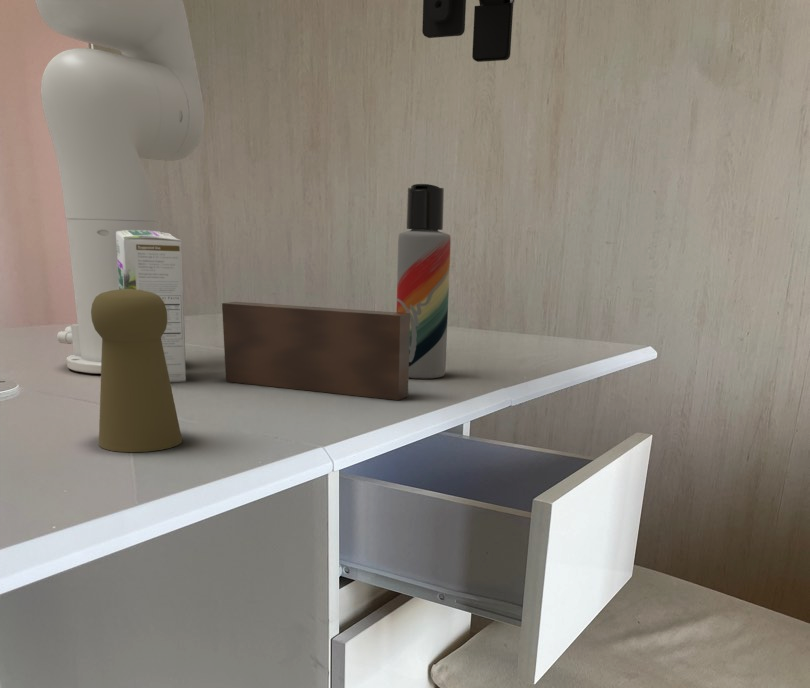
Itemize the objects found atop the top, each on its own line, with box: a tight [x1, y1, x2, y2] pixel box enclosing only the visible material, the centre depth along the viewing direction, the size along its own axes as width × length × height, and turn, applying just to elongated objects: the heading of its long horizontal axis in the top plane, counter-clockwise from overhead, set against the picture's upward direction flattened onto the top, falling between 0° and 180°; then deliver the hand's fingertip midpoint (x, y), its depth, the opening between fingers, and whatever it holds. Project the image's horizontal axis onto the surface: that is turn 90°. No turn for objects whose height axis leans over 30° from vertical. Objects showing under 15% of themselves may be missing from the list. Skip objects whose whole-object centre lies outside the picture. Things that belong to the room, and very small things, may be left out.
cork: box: [91, 289, 183, 453], centre depth 61 cm, size 6×6×11 cm
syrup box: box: [116, 230, 187, 383], centre depth 86 cm, size 6×6×14 cm
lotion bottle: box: [396, 183, 452, 380], centre depth 91 cm, size 6×6×20 cm
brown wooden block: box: [221, 301, 410, 401], centre depth 84 cm, size 20×2×8 cm, turn 66°
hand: (468, 48), depth 66 cm, fingers open, 9 cm apart
